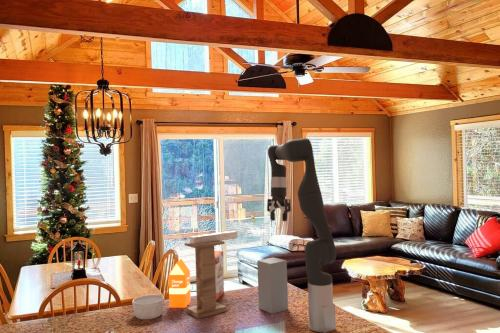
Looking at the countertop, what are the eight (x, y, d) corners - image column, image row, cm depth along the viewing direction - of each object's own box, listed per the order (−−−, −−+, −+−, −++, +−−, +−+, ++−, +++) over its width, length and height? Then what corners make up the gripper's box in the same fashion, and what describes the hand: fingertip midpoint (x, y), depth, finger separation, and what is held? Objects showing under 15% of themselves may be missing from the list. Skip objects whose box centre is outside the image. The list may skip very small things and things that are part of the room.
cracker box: (217, 301, 201) (215, 256, 201) (204, 301, 202) (203, 256, 202) (225, 292, 215) (223, 250, 215) (213, 292, 216) (211, 250, 216)
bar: (237, 238, 195) (237, 231, 195) (194, 244, 182) (193, 237, 182) (233, 237, 198) (233, 230, 198) (190, 243, 185) (190, 236, 185)
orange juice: (191, 301, 203) (189, 258, 203) (186, 307, 194) (184, 262, 194) (174, 301, 204) (173, 258, 204) (169, 307, 195) (167, 262, 195)
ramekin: (137, 323, 177) (136, 305, 177) (129, 313, 188) (128, 297, 188) (168, 316, 183) (168, 300, 183) (159, 308, 195) (158, 292, 195)
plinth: (288, 309, 188) (286, 260, 187) (271, 313, 182) (270, 263, 182) (274, 304, 195) (273, 257, 195) (258, 308, 190) (257, 260, 189)
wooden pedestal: (226, 311, 188) (224, 241, 187) (198, 318, 179) (195, 245, 179) (214, 305, 196) (212, 238, 196) (186, 312, 187) (184, 242, 187)
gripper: (294, 186, 205) (294, 221, 203) (274, 187, 216) (274, 220, 215) (282, 186, 200) (282, 221, 199) (263, 186, 211) (262, 220, 210)
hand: (278, 220), depth 207 cm, fingers open, 8 cm apart
